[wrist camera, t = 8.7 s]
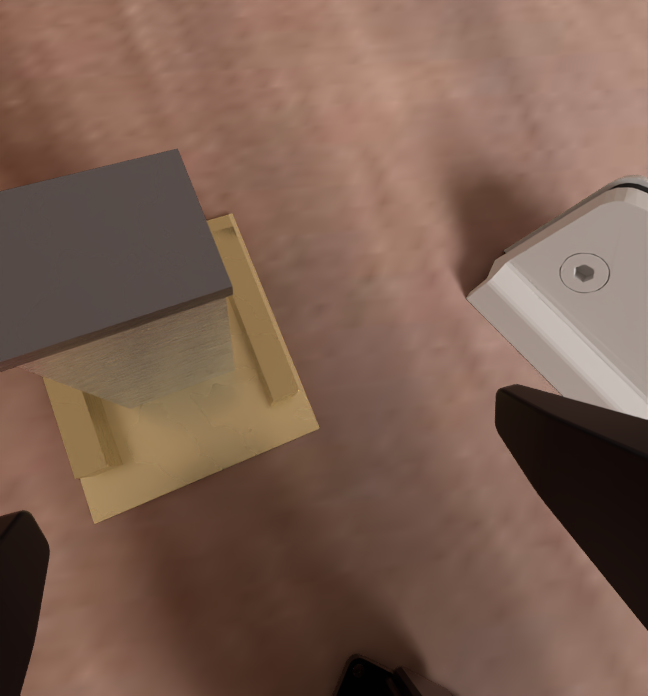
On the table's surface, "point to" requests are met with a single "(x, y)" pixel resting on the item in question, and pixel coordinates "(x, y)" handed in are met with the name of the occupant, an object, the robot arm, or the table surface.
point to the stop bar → (113, 282)
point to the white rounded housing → (581, 298)
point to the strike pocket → (190, 408)
